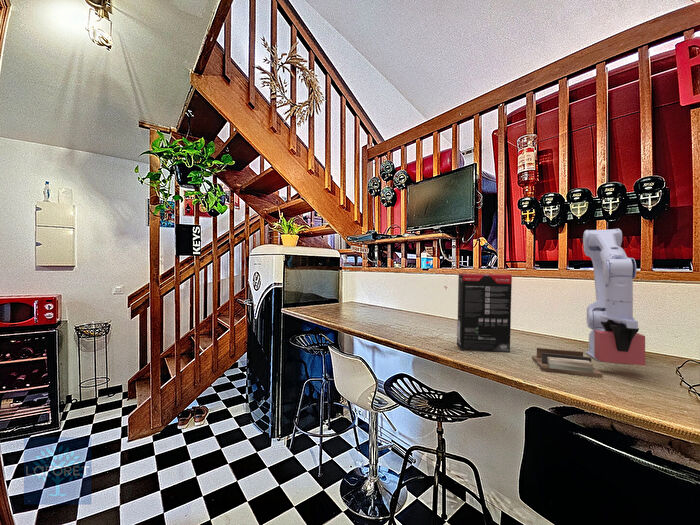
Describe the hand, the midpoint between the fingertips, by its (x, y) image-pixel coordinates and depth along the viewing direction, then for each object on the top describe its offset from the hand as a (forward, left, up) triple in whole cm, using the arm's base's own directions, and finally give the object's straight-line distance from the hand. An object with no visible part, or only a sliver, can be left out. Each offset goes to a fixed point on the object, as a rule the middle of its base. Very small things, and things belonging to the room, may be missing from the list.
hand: (618, 349), depth 83 cm
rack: (0, -13, -7) cm, 15 cm away
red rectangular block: (0, 0, -3) cm, 3 cm away
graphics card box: (-12, -34, -7) cm, 37 cm away
